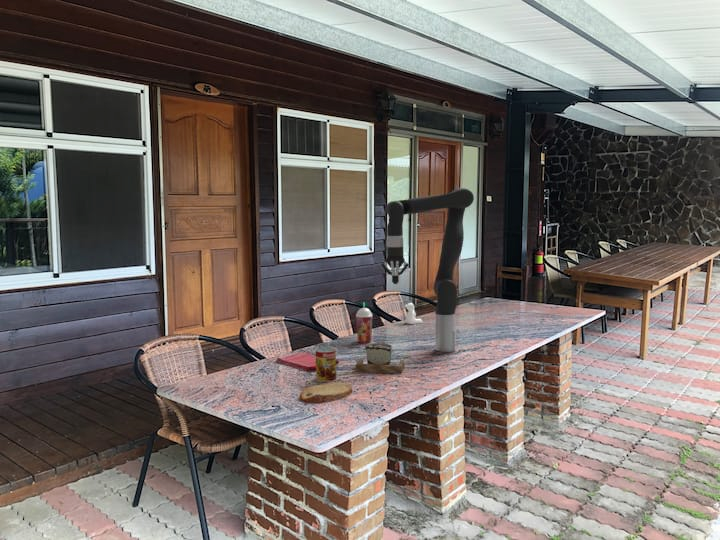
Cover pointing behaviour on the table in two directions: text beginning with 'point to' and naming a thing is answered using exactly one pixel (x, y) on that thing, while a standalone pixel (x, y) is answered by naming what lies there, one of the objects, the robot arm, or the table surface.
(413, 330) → the table surface
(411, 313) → the white creature statuette
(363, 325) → the smoothie
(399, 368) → the walnut dock
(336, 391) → the bread slice
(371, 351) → the food container
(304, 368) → the dish towel
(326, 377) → the canned food
